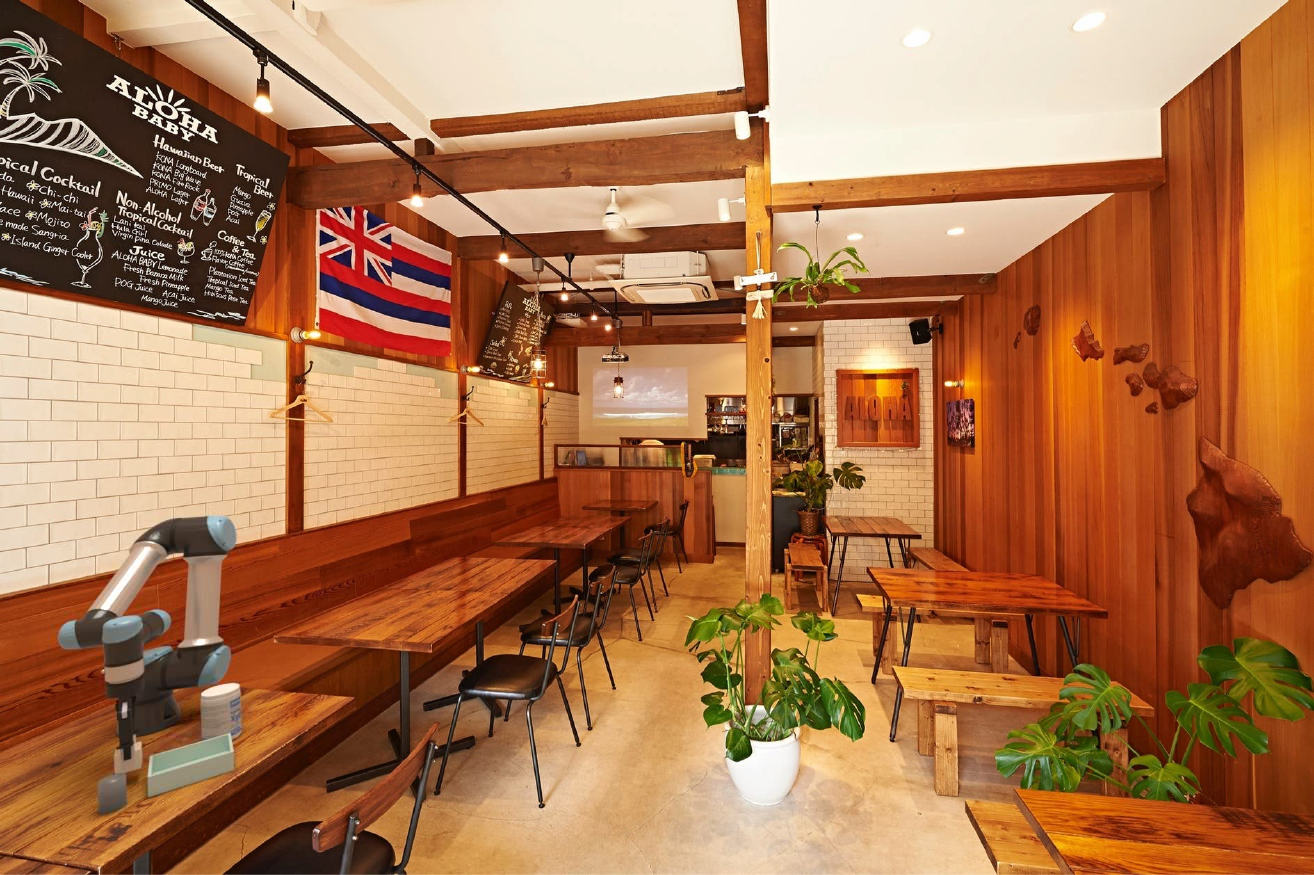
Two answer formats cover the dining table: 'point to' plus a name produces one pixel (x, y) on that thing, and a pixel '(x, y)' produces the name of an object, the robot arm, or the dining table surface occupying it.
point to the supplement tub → (221, 711)
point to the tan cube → (137, 758)
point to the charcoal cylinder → (112, 793)
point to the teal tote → (190, 764)
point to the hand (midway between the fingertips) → (129, 765)
